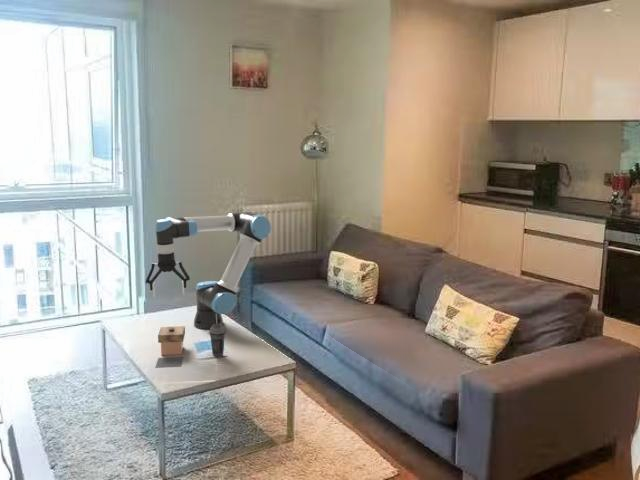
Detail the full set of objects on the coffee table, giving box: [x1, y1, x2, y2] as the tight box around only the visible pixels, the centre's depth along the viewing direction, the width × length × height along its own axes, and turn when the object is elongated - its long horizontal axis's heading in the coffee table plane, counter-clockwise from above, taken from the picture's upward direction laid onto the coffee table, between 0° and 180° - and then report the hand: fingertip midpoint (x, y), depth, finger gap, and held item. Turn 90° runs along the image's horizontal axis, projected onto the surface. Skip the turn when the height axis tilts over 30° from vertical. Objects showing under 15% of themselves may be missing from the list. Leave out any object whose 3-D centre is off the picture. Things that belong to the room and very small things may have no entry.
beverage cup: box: [209, 314, 226, 358], centre depth 267 cm, size 7×7×20 cm
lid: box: [157, 325, 186, 344], centre depth 271 cm, size 11×11×4 cm
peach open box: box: [160, 341, 184, 356], centre depth 272 cm, size 9×9×7 cm
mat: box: [155, 356, 184, 369], centre depth 260 cm, size 11×11×1 cm
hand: (169, 295), depth 280 cm, fingers open, 13 cm apart
